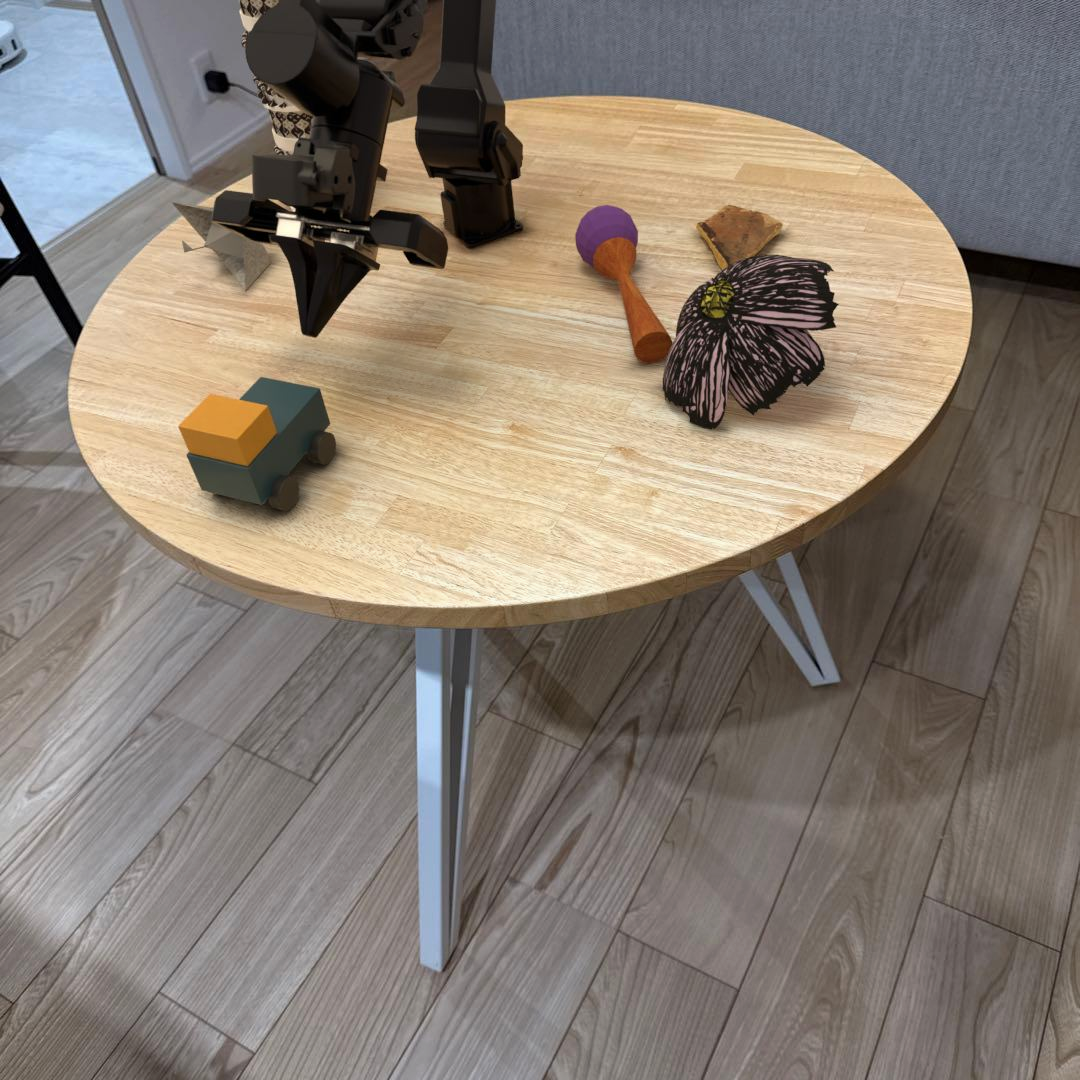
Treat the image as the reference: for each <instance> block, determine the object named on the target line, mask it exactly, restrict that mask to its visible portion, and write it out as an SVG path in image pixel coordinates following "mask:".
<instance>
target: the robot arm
mask: <svg viewBox="0 0 1080 1080" xmlns="http://www.w3.org/2000/svg"><path fill="white" fill-rule="evenodd" d="M427 4H428V0H279V2H278V5H275V6H274V7H272V8H270V9H268V10H267V11H266V12H265V13H263V14H262V15H261V16H260V17H259V19H258V20H257V22H256V23H255V24H254V26H253V28H252V30H251V31H250V32H249V33H248V35H247V39H246V47H245V48H244V49H245V50H244V53H245V61H246V60H247V61H246V63H247V65H248V68H249V70H250V72H251V73H252V74H253V75H254V76H256V77H257V78H258V79H260V80H261V81H262V82H263V83H265V84H266V85H267V86H269V87H270V88H271V89H273V90H274V91H275V92H277V93H278V94H280V95H281V96H282V97H284V98H285V99H286V100H288V101H289V102H290V103H292V104H293V105H294V106H296V107H297V108H298V109H300V110H301V111H302V112H304V113H305V114H308V115H310V116H313V119H312V125H311V130H310V135H309V138H302V137H299V138H298V141H297V142H296V143H295V147H294V152H293V154H292V155H276V154H270V153H269V154H265V153H263V154H262V153H260V154H259V153H253V154H251V179H252V180H251V181H252V183H251V185H252V193H251V192H244V191H235V190H229V189H228V190H227V189H225V190H224V191H222V192H221V193H220V194H219V195H218V196H216V197H215V200H214V202H213V207H212V208H213V212H212V218H211V222H212V223H214V224H216V225H218V226H220V227H222V228H224V229H226V230H228V231H230V232H233V233H235V234H237V235H239V236H241V237H243V238H245V239H247V240H249V241H253V242H256V243H262V244H263V245H269V246H277V247H279V248H280V249H281V252H282V253H283V255H284V257H285V259H286V260H287V262H288V265H289V269H290V273H291V277H292V281H293V285H294V292H295V298H296V306H297V312H298V313H297V314H298V319H299V326H300V332H301V335H303V336H305V337H309V338H314V339H317V337H319V335H320V334H321V332H322V331H323V330H324V328H326V326H327V324H328V323H329V322H330V321H331V319H332V318H333V316H334V315H335V314H336V312H337V311H338V309H339V308H340V306H341V305H342V303H344V301H345V300H346V298H347V297H348V296H349V295H350V294H351V293H352V291H353V290H354V289H355V288H356V287H357V286H358V285H359V284H360V283H361V282H362V280H363V279H364V278H365V277H366V276H367V275H368V273H370V272H371V271H377V272H378V271H380V268H381V264H380V263H379V262H378V261H377V257H378V252H379V249H386V250H393V251H398V252H399V251H401V252H402V253H403V256H405V257H406V260H407V261H408V263H409V264H410V265H412V266H416V267H422V268H430V269H436V270H444V269H445V267H446V262H447V257H448V252H449V244H448V243H449V242H448V238H447V236H446V234H445V233H444V231H443V230H441V229H440V228H439V227H438V226H436V225H435V224H433V223H432V222H430V221H429V220H427V219H426V218H425V217H423V216H422V215H421V214H418V213H412V212H402V211H395V210H387V209H379V210H378V211H377V212H376V213H375V214H373V216H372V215H371V211H372V207H373V202H374V197H375V196H374V195H375V191H376V186H377V182H383V183H386V181H387V175H388V168H387V167H385V166H383V164H382V163H381V160H382V155H383V151H384V145H385V140H386V136H387V135H386V134H387V129H388V126H389V125H388V124H389V119H390V115H391V108H392V107H394V108H403V107H404V106H405V104H406V103H405V102H406V100H405V97H404V93H403V91H402V89H401V88H400V87H399V85H398V83H397V80H396V78H395V73H394V71H393V70H386V69H385V70H384V69H380V68H379V67H377V66H376V65H375V64H373V63H372V62H370V61H367V60H365V59H359V58H369V59H383V60H396V61H401V60H405V59H406V58H411V57H412V55H413V54H414V52H415V51H416V49H417V47H418V44H419V42H420V40H421V38H422V36H423V33H424V32H423V31H424V25H425V24H424V21H425V19H424V18H425V13H426V8H427ZM496 7H497V0H442V13H441V14H442V15H441V36H440V53H439V54H440V55H439V65H438V69H437V71H436V72H435V73H434V76H433V77H432V79H431V80H430V82H429V83H428V84H427V83H421V84H420V86H419V89H417V93H416V100H417V101H416V104H417V105H416V106H417V114H416V121H415V126H414V142H415V146H416V149H417V152H418V154H419V157H420V159H421V161H422V164H423V167H424V168H425V171H426V173H427V176H428V178H429V179H435V178H438V179H441V180H442V186H443V191H441V192H440V194H439V195H440V201H441V208H442V212H443V220H444V221H442V224H443V227H444V228H445V229H446V230H447V231H448V232H449V233H450V234H451V235H452V236H453V237H454V238H456V239H457V240H458V241H459V242H461V243H462V244H463V245H464V246H465V247H466V248H467V249H471V250H472V249H475V248H479V247H482V246H484V245H487V244H489V243H492V242H495V241H498V240H500V239H503V238H506V237H509V236H512V235H514V234H517V233H520V232H522V231H523V230H524V224H523V223H521V222H520V221H519V220H518V219H516V212H515V211H516V210H515V202H514V193H513V184H512V181H514V180H518V179H520V178H521V176H522V171H521V168H522V167H523V160H524V144H523V143H522V141H521V140H520V139H519V138H518V137H517V136H516V135H515V134H514V132H512V131H511V130H510V129H509V127H508V126H507V125H506V103H505V101H504V99H503V97H502V95H501V93H500V91H499V87H498V85H497V83H496V81H495V79H494V76H493V74H492V64H493V51H494V34H495V20H496ZM274 201H278V202H279V203H282V204H283V205H285V206H287V207H290V206H292V207H294V208H296V210H295V212H294V211H292V210H289V209H286V208H285V207H283V206H281V205H279V204H277V203H276V202H274Z"/></svg>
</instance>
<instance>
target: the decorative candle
mask: <svg viewBox="0 0 1080 1080" xmlns="http://www.w3.org/2000/svg"><path fill="white" fill-rule="evenodd" d="M278 2H279V0H238V3H239V7H240V9H239V11H238V12H239V16H240V20H241V23H242V26H243V28H244V29H245V31H244V32H243V33H242V35H241V42H240V43H241V46H242V47H243V48H244V49H245V47H246V39H247V35H248V33H249V32H250V31H251V30H252V28H253V26H254V24H255V23H256V22H257V20H258V19H259V17H260V16H261V15H262V14H263V13H265V12H266V11H267V10H268V9H270V8H272V7H274V6H275V5H278ZM245 61H246V62H247V60H246V59H245ZM252 81H253V83H254V84H255V85H256V88H257V90H258V91H257V93H256V96H257V97H258V98H259V99H260V103H261V104H262V106H263V107H264V109H267V110H268V116H269V119H270V121H271V124H272V128H271V132H272V137H273V140H274V143H275V146H274V147H273V152H274V153H275V155H292V154H293V152H294V147H295V143H296V142H297V141H298V138H299V137H302V138H309V135H310V130H311V125H312V119H313V116H310V115H308V114H305V113H304V112H302V111H301V110H300V109H298V108H297V107H296V106H294V105H293V104H292V103H290V102H289V101H288V100H286V99H285V98H284V97H282V96H281V95H280V94H278V93H277V92H275V91H274V90H273V89H271V88H270V87H269V86H267V85H266V84H265V83H263V82H262V81H261V80H260V79H258V78H257V77H256V76H255V75H254V76H253V77H252ZM289 207H290V209H291V211H294V212H295V210H296V208H294V207H292V206H289Z"/></svg>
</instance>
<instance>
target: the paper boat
mask: <svg viewBox="0 0 1080 1080" xmlns="http://www.w3.org/2000/svg"><path fill="white" fill-rule="evenodd" d="M171 204H172V205H173V206H174V208H175V209H176V210H177V211H178V212H179V213H180V215H182V216H183V218H184V219H185V220H186V221H187V223H188V224H189V225H190V226H191V227H192V228H193V229H194V230H195V231H196V233H197V234H198V235H199V236H200V237H201V238H202V240H203V241H204V245H203V246H199V247H195V248H192V247H191V246H190V245H189V244H188V243H186V242H185V241H184V240H181V243H182V248H183V252H184V253H188V252H191V251H195V250H200V249H204V248H207V249H210V250H212V251H213V252H214V253H215V255H216V256H217V257H218V259H220V260H221V261H222V264H224V266H226V268H227V270H228V271H229V272H230V273H231V275H232V276H233V277H234V278H235V280H236V281H237V283H238V284H239V285H240V286H241V288H242V289H243V290H244V291H245V292H247V291H248V289H249V288H250V287H251V286H252V285H253V284H254V283H255V281H256V280H257V279H258V278H259V277H260V276H261V275H262V274H263V272H265V270H266V269H267V268H268V267H269V266H270V265H271V263H272V260H271V258H270V255H269V253H268V251H267V249H266V247H265V246H264V245H265V244H262V243H256V242H253V241H249V240H247V239H245V238H243V237H241V236H239V235H237V234H235V233H233V232H230V231H228V230H226V229H224V228H222V227H220V226H218V225H216V224H214V223H212V222H211V218H212V212H213V207H211V206H206V205H205V206H204V205H198V204H197V205H195V204H190V203H189V204H188V203H181V202H172V201H171Z"/></svg>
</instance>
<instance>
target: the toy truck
mask: <svg viewBox="0 0 1080 1080" xmlns="http://www.w3.org/2000/svg"><path fill="white" fill-rule="evenodd" d="M330 425H331V421H330V418H329V415H328V411H327V407H326V404H325V400H324V398H323V394H322V391H321V388H320V387H316V386H310V385H304V384H299V383H295V382H289V381H285V380H279V379H275V378H269V377H264V376H260V377H259V378H258V379H257V380H256V381H255V382H254V383H253V384H252V385H251V386H250V387H249V388H248V389H247V390H246V392H245V393H243V394H242V396H240V398H234V397H228V396H225V395H224V396H223V395H219V394H213V393H209V394H208V395H207V396H206V397H204V399H203V400H202V401H201V402H200V403H199V404H198V405H197V406H196V407H195V408H194V409H193V410H192V411H191V412H190V413H189V414H188V415H187V416H186V417H185V418H184V419H183V420H182V421H181V422H180V423H179V424H178V426H177V427H178V429H179V432H180V434H181V436H182V438H183V441H184V443H185V445H186V448H187V450H188V452H187V453H186V454H185V455H186V458H187V460H188V462H189V465H190V467H191V469H192V472H193V474H194V476H195V478H196V481H197V483H198V485H199V488H200V490H201V491H202V492H203V491H204V492H206V493H210V494H213V495H220V496H223V497H228V498H232V499H235V500H238V501H239V500H240V501H244V502H248V503H252V504H257V505H260V506H263V505H264V504H265V503H266V502H267V500H268V502H269V504H270V506H271V507H272V508H273V509H275V510H279V511H282V512H283V511H284V512H287V511H291V510H292V509H293V508H294V507H295V506H296V503H297V502H298V498H299V494H300V485H299V482H298V481H297V479H296V478H294V477H292V476H289V474H290V473H291V472H292V470H294V468H295V467H296V465H298V463H300V461H301V460H302V459H303V458H304V456H305V455H306V454H307V457H308V460H309V461H311V462H312V463H315V464H320V465H328V464H329V463H331V461H332V460H333V458H334V456H335V453H336V449H337V441H336V437H335V435H334V434H333V433H332V432H330V431H326V430H327V429H328V427H329V426H330Z"/></svg>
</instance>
